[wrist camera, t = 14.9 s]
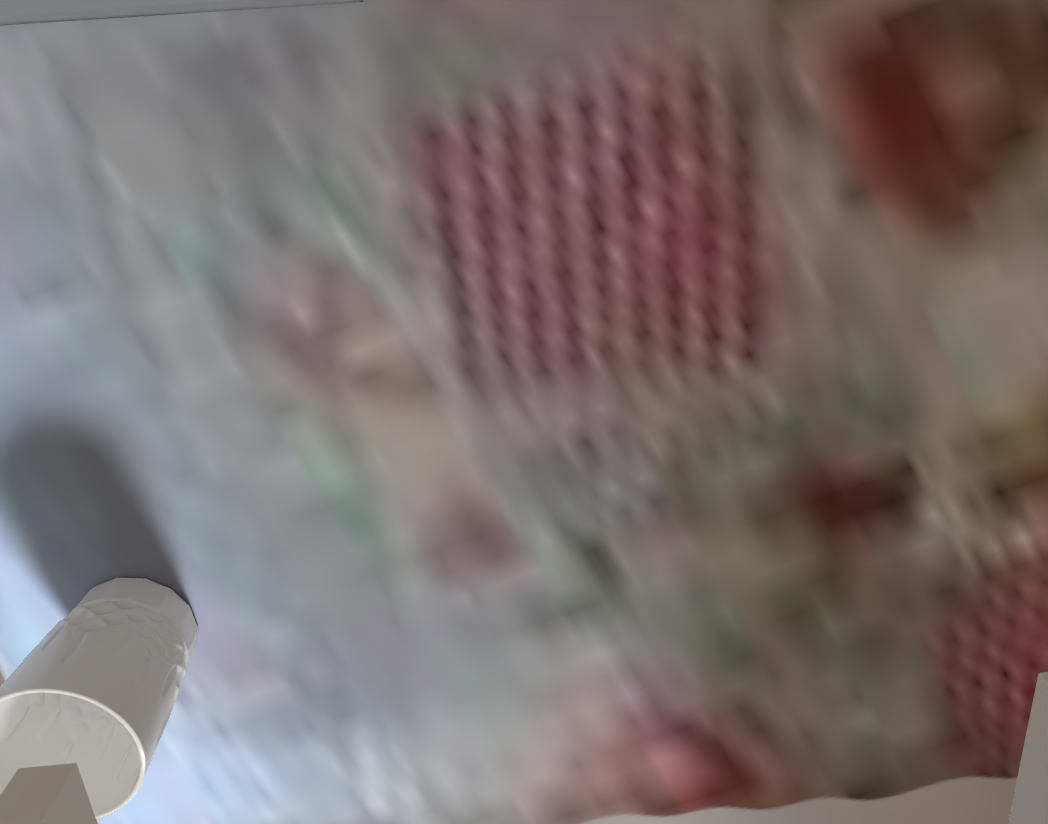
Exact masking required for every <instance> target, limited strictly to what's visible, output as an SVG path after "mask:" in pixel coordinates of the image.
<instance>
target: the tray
mask: <svg viewBox="0 0 1048 824" xmlns="http://www.w3.org/2000/svg"><path fill="white" fill-rule="evenodd" d="M350 2H363V0H0V25H14V24H29V23H45V22H60V21H75V20H90V19H106V18H121V17H136V16H151V15H167V14H182V13H197V12H213V11H228V10H243V9H258V8H274V7H289V6H304V5H319V4H335V3H350Z"/></svg>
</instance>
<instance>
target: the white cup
mask: <svg viewBox="0 0 1048 824" xmlns="http://www.w3.org/2000/svg"><path fill="white" fill-rule="evenodd" d="M197 633H198V627H197V624H196V621H195V619H194V616H193V613H192V611H191V608H190V606H189V605H188V604H187V603H186V602H185V601H184V600H182V599H181V598H180V597H179V596H178V595H177V594H176V593H175V592H174V591H173V590H172V589H171V588H168V587H166V586H163V585H161V584H158V583H156V582H153V581H151V580H148V579H146V578H115V579H112V580H110V581H107V582H105V583H102V584H100V585H97V586H95V587H93V588H91V589H90V591H89V592H88V593H87V594H86V595H85V596H84V598H83V599H82V600H81V601H80V602H79V603H78V605H77V606H76V607H75V608H74V609H73V610H72V611H71V612H70V613H69V614H68V615H67V616H66V617H65V618H64V619H62V620H61V621H59V622H58V623H57V624H56V626H55V627H54V628H53V629H52V630H51V631H50V632H49V633H48V634H47V635H46V636H45V637H44V638H43V639H42V640H41V642H40V643H39V644H38V645H37V646H36V647H35V648H34V649H33V650H32V651H31V652H30V653H29V654H28V655H27V657H26V658H25V659H24V660H23V661H22V663H21V664H20V665H19V666H18V667H17V669H16V670H15V671H14V672H13V673H12V674H11V675H10V677H9V678H8V679H7V680H6V681H5V682H4V683H3V684H2V686H1V687H0V795H1V794H2V792H3V791H4V789H5V788H6V786H7V785H8V783H9V782H10V780H11V779H12V777H13V776H14V774H15V773H16V771H17V770H18V768H27V767H38V766H49V765H60V764H70V763H77V765H78V768H79V771H80V774H81V777H82V780H83V783H84V786H85V789H86V792H87V795H88V797H89V800H90V803H91V806H92V809H93V812H94V815H95V818H96V819H97V818H101V817H103V816H106V815H109V814H111V813H113V812H115V811H117V810H118V809H120V808H121V807H123V806H124V805H125V804H127V803H128V802H129V801H130V800H131V799H132V798H133V797H134V796H135V794H136V793H137V792H138V790H139V788H140V786H141V784H142V782H143V780H144V777H145V775H146V772H147V770H148V767H149V765H150V762H151V760H152V758H153V755H154V753H155V750H156V748H157V746H158V743H159V741H160V738H161V736H162V734H163V731H164V729H165V726H166V724H167V722H168V719H169V717H170V714H171V712H172V709H173V706H174V703H175V701H176V698H177V695H178V693H179V691H180V688H181V685H182V683H183V680H184V677H185V674H186V669H187V666H188V664H189V662H190V659H191V657H192V655H193V652H194V649H195V644H196V638H197Z"/></svg>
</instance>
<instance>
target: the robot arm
mask: <svg viewBox="0 0 1048 824" xmlns="http://www.w3.org/2000/svg"><path fill="white" fill-rule="evenodd" d="M1009 823H1010V824H1048V672H1046V673H1039V674H1038V679H1037V684H1036V689H1035V694H1034V699H1033V704H1032V709H1031V714H1030V719H1029V724H1028V729H1027V733H1026V738H1025V743H1024V748H1023V753H1022V758H1021V763H1020V768H1019V773H1018V778H1017V783H1016V788H1015V792H1014V797H1013V802H1012V807H1011V812H1010V817H1009ZM0 824H97V821H96V818H95V815H94V812H93V809H92V806H91V803H90V800H89V797H88V795H87V792H86V789H85V786H84V783H83V780H82V777H81V774H80V771H79V768H78V765H77V763H70V764H60V765H49V766H38V767H27V768H18V770H17V771H16V773H15V774H14V776H13V777H12V779H11V780H10V782H9V783H8V785H7V786H6V788H5V789H4V791H3V792H2V794H1V795H0Z"/></svg>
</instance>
